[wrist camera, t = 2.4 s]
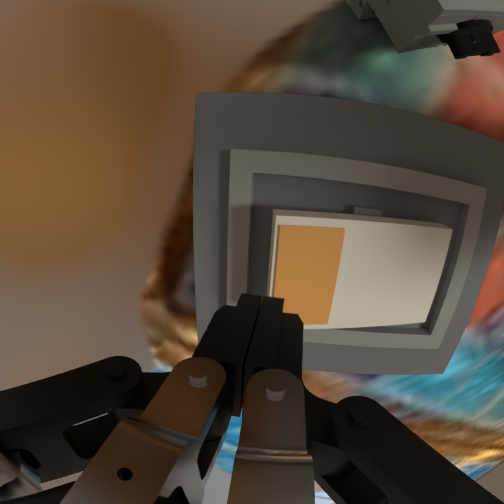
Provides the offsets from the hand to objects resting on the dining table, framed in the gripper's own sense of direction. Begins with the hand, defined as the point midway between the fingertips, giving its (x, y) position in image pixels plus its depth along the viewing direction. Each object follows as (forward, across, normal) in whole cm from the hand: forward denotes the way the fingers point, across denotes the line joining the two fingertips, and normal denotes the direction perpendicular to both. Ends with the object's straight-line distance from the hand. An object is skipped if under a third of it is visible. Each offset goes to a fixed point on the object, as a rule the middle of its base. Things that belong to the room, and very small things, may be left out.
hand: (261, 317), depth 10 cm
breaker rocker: (+5, -5, 0) cm, 7 cm away
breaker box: (+13, -5, 0) cm, 14 cm away
